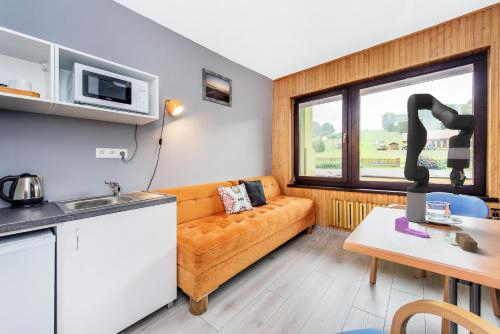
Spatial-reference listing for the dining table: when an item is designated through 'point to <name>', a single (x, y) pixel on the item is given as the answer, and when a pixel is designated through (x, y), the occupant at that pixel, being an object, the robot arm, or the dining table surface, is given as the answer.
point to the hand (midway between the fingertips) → (455, 194)
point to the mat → (453, 241)
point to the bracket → (403, 227)
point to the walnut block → (466, 242)
